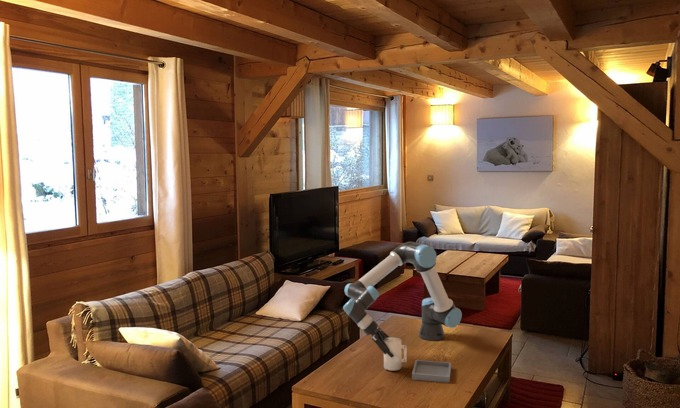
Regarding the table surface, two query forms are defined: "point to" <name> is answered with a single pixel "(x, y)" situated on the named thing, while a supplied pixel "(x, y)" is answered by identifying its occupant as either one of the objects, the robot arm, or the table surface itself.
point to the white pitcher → (396, 347)
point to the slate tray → (431, 371)
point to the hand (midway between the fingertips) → (398, 357)
